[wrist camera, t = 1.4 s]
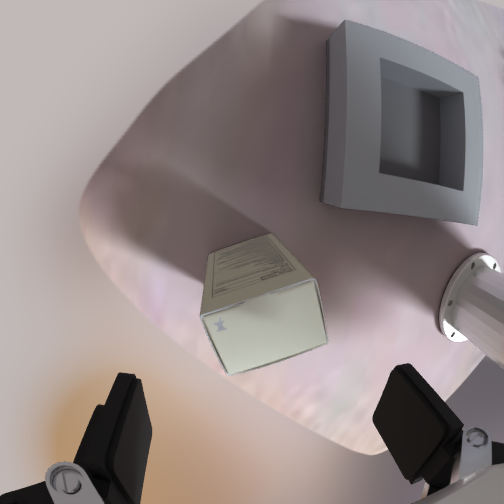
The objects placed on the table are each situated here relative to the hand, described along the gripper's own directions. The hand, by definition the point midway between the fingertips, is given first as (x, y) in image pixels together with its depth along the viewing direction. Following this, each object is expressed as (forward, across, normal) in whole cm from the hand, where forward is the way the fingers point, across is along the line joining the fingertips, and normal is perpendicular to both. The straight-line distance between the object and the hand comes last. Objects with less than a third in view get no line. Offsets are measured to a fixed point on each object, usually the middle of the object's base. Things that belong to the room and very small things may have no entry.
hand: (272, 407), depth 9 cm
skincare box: (+18, -1, 0) cm, 18 cm away
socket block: (+17, -15, -14) cm, 27 cm away
